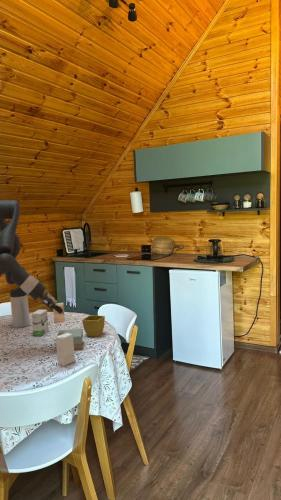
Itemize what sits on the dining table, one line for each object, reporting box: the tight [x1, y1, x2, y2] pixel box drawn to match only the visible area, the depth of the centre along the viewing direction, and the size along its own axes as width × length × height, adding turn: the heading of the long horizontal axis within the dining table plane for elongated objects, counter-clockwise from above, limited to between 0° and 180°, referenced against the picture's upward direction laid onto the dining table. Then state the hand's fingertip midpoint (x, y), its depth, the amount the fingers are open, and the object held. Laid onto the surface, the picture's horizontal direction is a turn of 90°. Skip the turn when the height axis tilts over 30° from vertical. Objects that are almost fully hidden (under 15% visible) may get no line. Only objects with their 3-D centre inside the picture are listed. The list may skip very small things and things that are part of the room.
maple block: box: [52, 302, 66, 324], centre depth 175 cm, size 5×5×8 cm
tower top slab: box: [56, 328, 84, 344], centre depth 177 cm, size 11×11×4 cm
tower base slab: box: [74, 341, 84, 351], centre depth 177 cm, size 11×11×4 cm
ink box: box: [31, 309, 50, 337], centre depth 198 cm, size 9×5×12 cm, turn 168°
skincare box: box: [55, 333, 76, 367], centre depth 158 cm, size 6×4×12 cm
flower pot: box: [81, 314, 106, 338], centre depth 191 cm, size 9×9×9 cm
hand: (61, 310), depth 175 cm, fingers closed on maple block, 4 cm apart
